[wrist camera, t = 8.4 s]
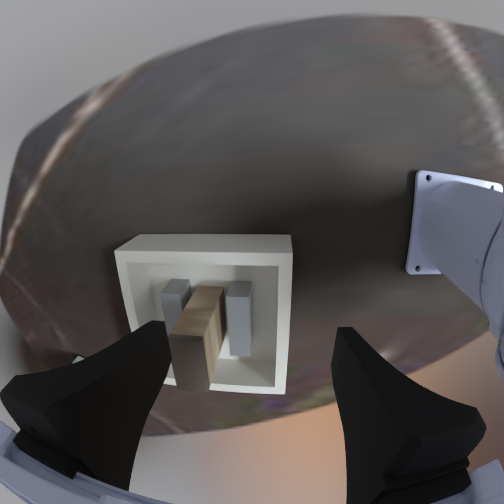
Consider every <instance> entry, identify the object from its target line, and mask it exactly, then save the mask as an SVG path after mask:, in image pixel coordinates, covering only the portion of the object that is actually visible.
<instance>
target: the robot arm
mask: <svg viewBox="0 0 504 504" xmlns="http://www.w3.org/2000/svg"><path fill="white" fill-rule="evenodd" d="M427 175H429V180H428V181H427V180H426V176H427ZM491 186H492V189H490V188H491ZM418 265H419V267H418V269H417V270H415V268H416V266H418ZM406 271H407V272H408V273H409V274H443V275H445V276H446V277H447V278H448V279H449V280H450V281H451V282H452V283H454V284H455V285H456V286H457V287H458V288H459V289H460V290H461V291H462V292H463V293H464V294H466V295H467V296H468V297H469V298H470V299H471V300H472V301H473V302H474V303H475V304H476V305H477V306H478V307H479V308H480V309H481V310H482V311H483V312H484V313H485V314H486V315H487V316H488V317H489V321H490V326H489V331H490V332H491V333H492V334H493V335H494V336H495V338H497V340H498V341H499V343H498V346H497V349H496V355H495V362H496V368H497V371H498V373H499V376H500V378H501V379H502V381H503V382H504V193H503V188H502V185H501V184H499V183H494V182H490V181H485V180H479V179H474V178H469V177H463V176H457V175H451V174H445V173H438V172H431V171H424V170H419V171H418V172H417V173H416V177H415V194H414V206H413V217H412V226H411V234H410V242H409V249H408V256H407V262H406ZM171 361H172V355H171V350H170V345H169V340H168V335H167V330H166V325H165V321H157V320H151V321H149V322H148V323H146V324H144V325H143V326H141V327H139V328H138V329H136V330H135V331H133V332H132V333H130V334H128V335H127V336H125V337H124V338H122V339H121V340H119V341H117V342H116V343H114V344H112V345H110V346H109V347H107V348H105V349H103V350H102V351H100V352H98V353H96V354H94V355H92V356H90V357H87V358H85V359H83V360H80V361H78V362H75V363H72V364H69V365H66V366H64V367H61V368H57V369H53V370H49V371H45V372H40V373H34V374H25V375H16V376H15V377H14V378H13V379H12V380H11V381H10V382H9V383H8V384H7V385H6V386H5V387H4V388H3V389H2V391H1V392H0V398H1V401H2V403H3V405H4V406H5V408H6V410H7V411H8V412H9V414H10V415H11V417H12V418H13V419H14V421H15V422H16V424H17V425H18V426H19V428H20V429H21V430H20V431H19V432H18V434H17V433H16V432H15V431H14V430H13V429H12V428H10V427H9V426H8V425H6V424H5V423H3V422H2V421H0V482H1V483H2V484H3V485H4V486H5V487H6V488H8V489H9V490H10V491H11V492H13V493H14V494H15V495H17V496H18V497H19V498H21V499H22V500H23V501H25V502H26V503H28V504H171V503H167V502H163V501H159V500H155V499H152V498H148V497H145V496H141V495H137V494H135V493H131V492H129V485H130V479H131V473H132V468H133V464H134V459H135V455H136V451H137V448H138V444H139V440H140V437H141V434H142V431H143V428H144V424H145V422H146V419H147V417H148V414H149V412H150V410H151V408H152V406H153V404H154V402H155V400H156V398H157V396H158V394H159V392H160V389H161V387H162V385H163V383H164V381H165V379H166V377H167V374H168V371H169V367H170V364H171ZM331 369H332V379H333V387H334V391H335V395H336V400H337V404H338V408H339V412H340V417H341V421H342V425H343V431H344V439H345V451H346V468H347V503H346V504H504V471H503V469H502V467H501V464H500V463H499V460H498V459H496V460H494V461H492V462H490V463H488V464H485V465H483V466H481V467H479V468H477V469H475V470H473V471H472V472H470V473H469V474H468V472H467V469H466V468H467V467H468V466H469V464H470V463H469V460H468V458H467V456H468V455H469V454H470V453H471V452H472V451H473V449H474V448H475V447H476V446H477V445H478V443H479V442H480V441H481V439H482V438H483V436H484V433H485V431H486V424H485V422H484V421H483V419H482V417H481V415H480V413H479V411H478V410H477V408H475V407H472V406H469V405H465V404H462V403H459V402H456V401H453V400H450V399H448V398H445V397H443V396H441V395H438V394H436V393H434V392H432V391H430V390H428V389H427V388H425V387H423V386H421V385H419V384H418V383H416V382H414V381H413V380H411V379H410V378H408V377H407V376H405V375H404V374H402V373H401V372H400V371H398V370H397V369H396V368H395V367H393V366H392V365H391V364H390V363H389V362H387V361H386V360H385V359H384V358H383V357H382V356H381V355H379V354H378V353H377V352H376V351H375V350H374V349H373V348H372V347H371V346H370V345H369V344H368V343H367V342H366V341H365V340H364V339H363V338H362V337H361V336H360V335H359V334H358V333H357V332H356V330H355V329H354V328H352V327H338V328H337V334H336V340H335V346H334V352H333V358H332V363H331Z"/></svg>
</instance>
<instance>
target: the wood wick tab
mask: <svg viewBox="0 0 504 504" xmlns="http://www.w3.org/2000/svg"><path fill="white" fill-rule="evenodd" d="M225 334H226V315H225V299H224V287H218V286H197V288H196V290H195V291H194V293H193V295H192V296H191V298H190V300H189V301H188V303H187V305H186V306H185V308H184V310H183V311H182V313H181V315H180V317H179V318H178V320H177V322H176V323H175V325H174V327H173V328H172V330H171V332H170V334H169V335H168V340H169V345H170V350H171V355H172V361H171V364H172V368H173V373H174V377H175V381H176V385H177V389H183V390H190V391H198V392H206V393H208V391H209V388H210V384H211V381H212V378H213V374H214V371H215V368H216V364H217V361H218V358H219V354H220V351H221V348H222V344H223V341H224V338H225Z"/></svg>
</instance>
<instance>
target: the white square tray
mask: <svg viewBox="0 0 504 504" xmlns="http://www.w3.org/2000/svg"><path fill="white" fill-rule="evenodd" d="M114 253H115V259H116V264H117V270H118V275H119V280H120V285H121V290H122V295H123V299H124V304H125V308H126V312H127V316H128V320H129V324H130V328H131V332H133V331H135V330H136V329H138V328H139V327H141V326H143V325H144V324H146V323H148V322H149V321H151V320H157V321H165V325H166V330H167V335H169V334H170V332H171V330H172V328H173V327H174V325H175V323H176V322H177V320H178V318H179V317H180V315H181V313H182V311H183V310H184V308H185V306H186V305H187V303H188V301H189V300H190V298H191V296H192V295H193V293H194V291H195V290H196V288H197V286H218V287H224V299H225V315H226V334H225V338H224V341H223V344H222V348H221V351H220V354H219V358H218V361H217V364H216V368H215V371H214V374H213V378H212V381H211V384H210V388H209V390H218V391H229V392H243V393H263V394H285V386H286V373H287V359H288V344H289V328H290V309H291V288H292V262H293V251H292V243H291V235H275V234H139V235H138V236H136V237H135V238H133V239H131V240H130V241H128V242H127V243H125V244H124V245H122V246H121V247H119V248H117V249H116V250H114ZM163 384H170V385H176V381H175V377H174V373H173V368H172V364H170V367H169V371H168V374H167V377H166V379H165V381H164V383H163ZM176 386H177V385H176Z"/></svg>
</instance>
